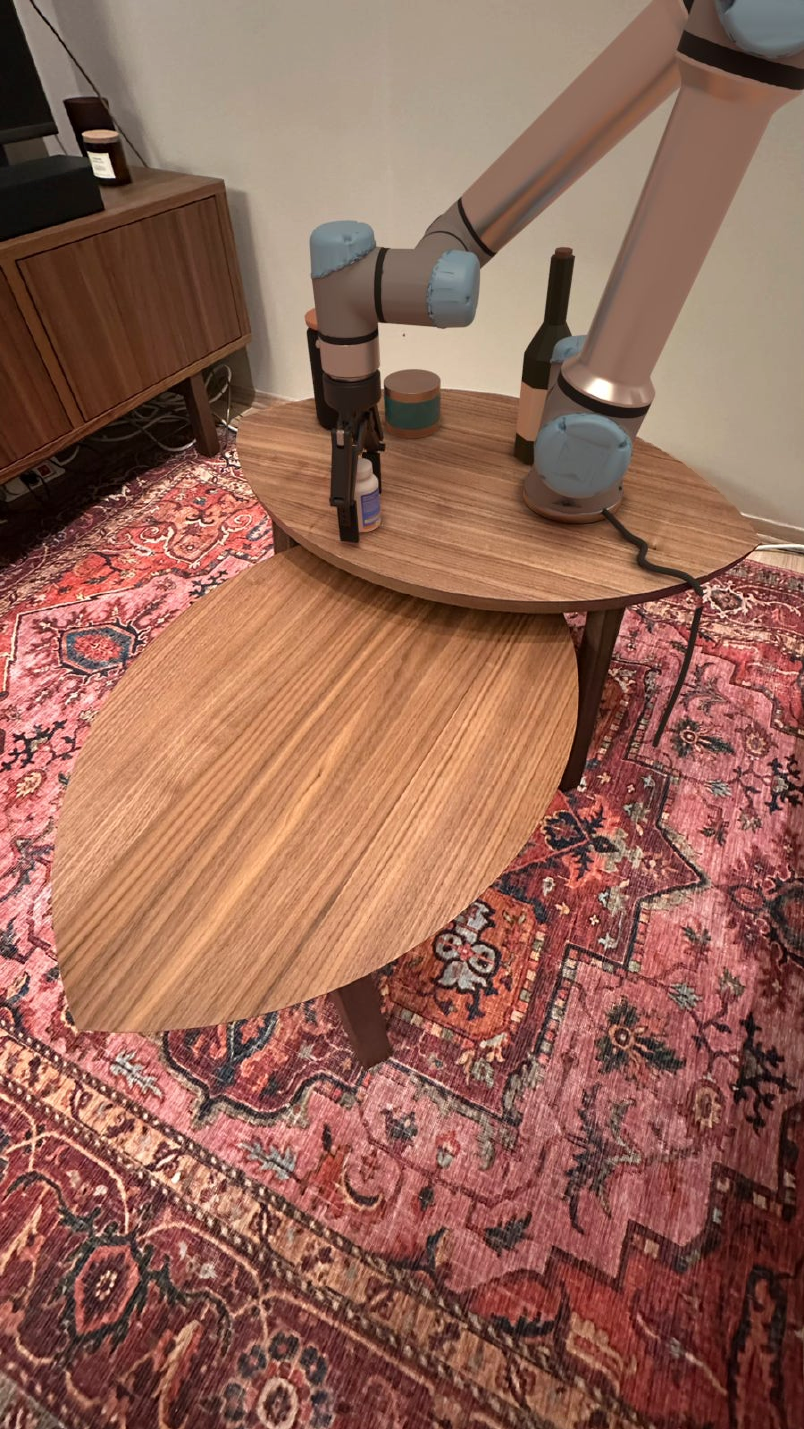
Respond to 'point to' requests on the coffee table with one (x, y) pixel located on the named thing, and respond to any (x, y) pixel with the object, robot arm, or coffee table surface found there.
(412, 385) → the tin
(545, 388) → the wine bottle
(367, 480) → the pill bottle
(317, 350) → the coffee jar
